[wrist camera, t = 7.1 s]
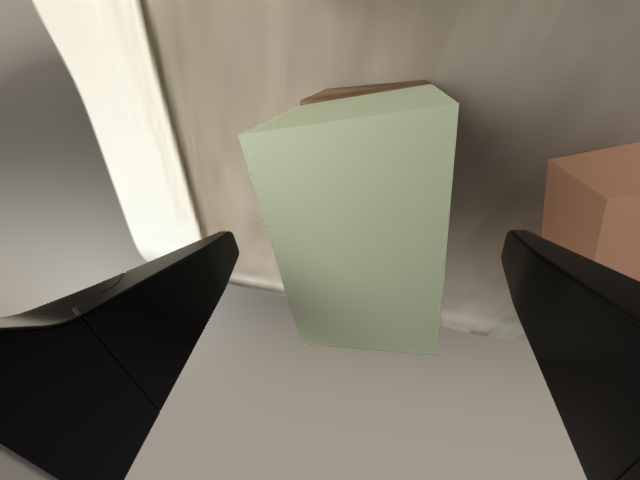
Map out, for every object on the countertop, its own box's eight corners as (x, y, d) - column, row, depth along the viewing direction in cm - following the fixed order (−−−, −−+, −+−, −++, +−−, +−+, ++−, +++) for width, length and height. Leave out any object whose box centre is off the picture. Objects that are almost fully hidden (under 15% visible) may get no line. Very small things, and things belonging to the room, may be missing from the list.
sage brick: (431, 83, 10) (459, 103, 6) (424, 267, 14) (437, 356, 10) (296, 106, 11) (237, 134, 7) (326, 266, 15) (301, 344, 11)
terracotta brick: (679, 132, 13) (814, 169, 9) (636, 269, 16) (716, 339, 12) (547, 158, 14) (607, 199, 10) (535, 276, 18) (576, 340, 14)
